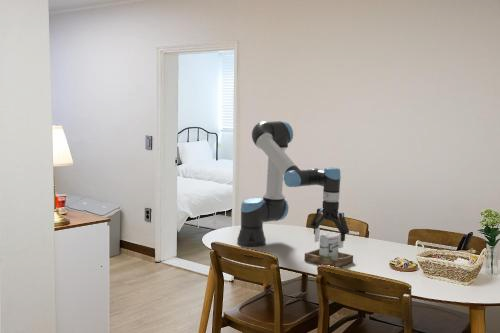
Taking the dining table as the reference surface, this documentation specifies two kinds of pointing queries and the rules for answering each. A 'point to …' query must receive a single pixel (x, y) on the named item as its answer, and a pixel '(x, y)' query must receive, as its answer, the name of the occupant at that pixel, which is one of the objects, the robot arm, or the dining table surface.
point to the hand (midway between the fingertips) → (328, 244)
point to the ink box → (329, 246)
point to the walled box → (340, 262)
